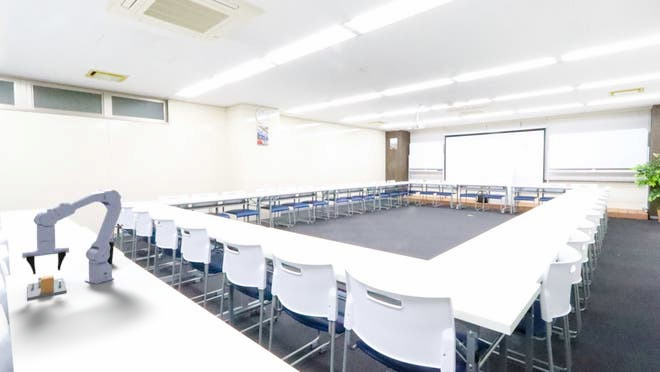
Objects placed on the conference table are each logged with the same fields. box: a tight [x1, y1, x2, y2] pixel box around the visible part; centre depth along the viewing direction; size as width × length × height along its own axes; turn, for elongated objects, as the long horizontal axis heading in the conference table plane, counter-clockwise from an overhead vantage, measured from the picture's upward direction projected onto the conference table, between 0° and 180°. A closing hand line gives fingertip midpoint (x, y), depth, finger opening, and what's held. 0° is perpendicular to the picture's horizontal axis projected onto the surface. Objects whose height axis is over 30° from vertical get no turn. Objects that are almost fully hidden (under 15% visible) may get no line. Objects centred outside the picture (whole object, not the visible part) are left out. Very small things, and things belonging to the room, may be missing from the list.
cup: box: [107, 241, 115, 265], centre depth 173 cm, size 8×8×12 cm
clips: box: [31, 280, 61, 289], centre depth 135 cm, size 6×9×2 cm, turn 135°
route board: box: [27, 277, 68, 300], centre depth 135 cm, size 21×12×1 cm, turn 45°
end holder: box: [38, 274, 52, 287], centre depth 139 cm, size 7×5×2 cm
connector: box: [40, 274, 55, 294], centre depth 130 cm, size 4×4×6 cm
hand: (46, 271), depth 130 cm, fingers open, 7 cm apart
